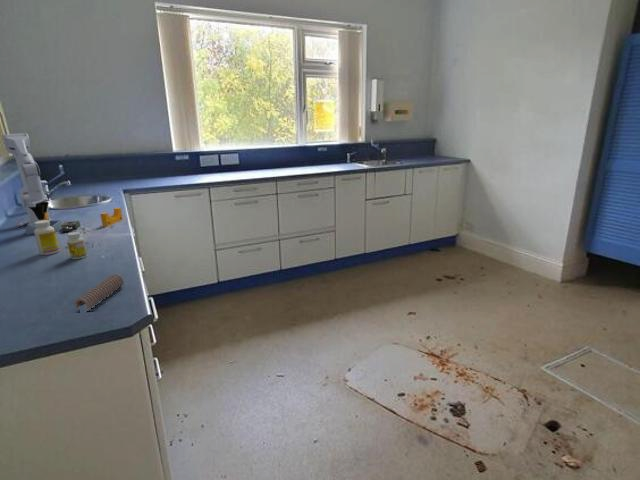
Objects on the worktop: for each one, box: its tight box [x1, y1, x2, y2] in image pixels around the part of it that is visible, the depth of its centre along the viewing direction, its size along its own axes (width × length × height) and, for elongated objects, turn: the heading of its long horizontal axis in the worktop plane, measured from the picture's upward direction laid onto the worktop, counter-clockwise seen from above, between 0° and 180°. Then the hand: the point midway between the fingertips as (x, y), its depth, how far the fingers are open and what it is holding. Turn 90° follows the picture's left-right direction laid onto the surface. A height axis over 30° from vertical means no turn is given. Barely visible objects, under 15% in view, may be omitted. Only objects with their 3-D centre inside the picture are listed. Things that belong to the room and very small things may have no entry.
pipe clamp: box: [100, 207, 124, 227], centre depth 193 cm, size 12×4×6 cm, turn 172°
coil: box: [74, 273, 125, 309], centre depth 114 cm, size 5×5×18 cm
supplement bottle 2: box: [66, 231, 88, 260], centre depth 147 cm, size 5×5×10 cm
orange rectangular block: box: [40, 211, 51, 221], centre depth 182 cm, size 3×3×6 cm
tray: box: [24, 219, 64, 236], centre depth 183 cm, size 11×11×3 cm
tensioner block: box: [61, 220, 81, 234], centre depth 183 cm, size 11×6×3 cm, turn 15°
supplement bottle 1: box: [33, 220, 60, 256], centre depth 151 cm, size 7×7×13 cm
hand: (42, 218), depth 181 cm, fingers closed on orange rectangular block, 3 cm apart
